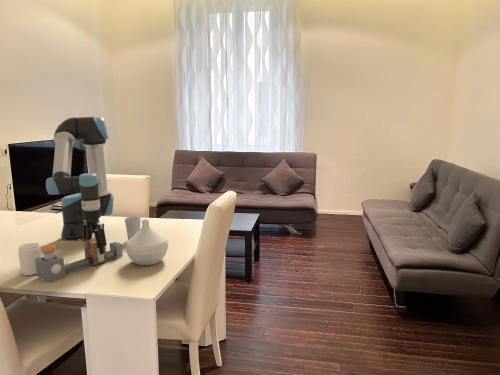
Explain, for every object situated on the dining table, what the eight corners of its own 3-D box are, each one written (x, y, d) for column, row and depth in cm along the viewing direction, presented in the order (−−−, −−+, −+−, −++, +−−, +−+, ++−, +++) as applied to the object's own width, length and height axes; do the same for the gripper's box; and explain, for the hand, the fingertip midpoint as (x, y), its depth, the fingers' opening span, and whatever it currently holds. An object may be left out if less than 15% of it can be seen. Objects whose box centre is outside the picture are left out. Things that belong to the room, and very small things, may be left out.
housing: (37, 277, 168) (35, 259, 166) (54, 272, 173) (52, 254, 172) (49, 282, 162) (46, 263, 161) (66, 277, 168) (64, 258, 166)
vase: (147, 272, 171) (144, 227, 167) (117, 264, 180) (114, 222, 177) (177, 258, 186) (175, 217, 183) (148, 252, 196) (145, 213, 192)
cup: (137, 243, 211) (136, 220, 209) (123, 242, 213) (121, 220, 211) (144, 238, 219) (143, 216, 217) (130, 238, 220) (129, 216, 218)
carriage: (85, 262, 184) (83, 240, 182) (97, 258, 188) (95, 237, 187) (94, 265, 179) (92, 243, 178) (106, 261, 184) (105, 239, 182)
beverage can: (26, 269, 177) (23, 243, 175) (46, 268, 178) (43, 242, 176) (17, 277, 169) (14, 249, 167) (38, 275, 170) (34, 248, 168)
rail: (56, 273, 172) (55, 259, 171) (116, 254, 195) (115, 241, 194) (63, 275, 169) (61, 261, 168) (122, 255, 192) (121, 243, 191)
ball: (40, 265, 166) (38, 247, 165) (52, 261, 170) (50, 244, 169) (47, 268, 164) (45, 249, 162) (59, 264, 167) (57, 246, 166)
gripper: (70, 208, 183) (75, 257, 187) (97, 213, 171) (101, 266, 175) (86, 204, 189) (90, 252, 193) (112, 210, 177) (116, 261, 181)
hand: (96, 259), depth 184 cm, fingers closed on carriage, 7 cm apart
